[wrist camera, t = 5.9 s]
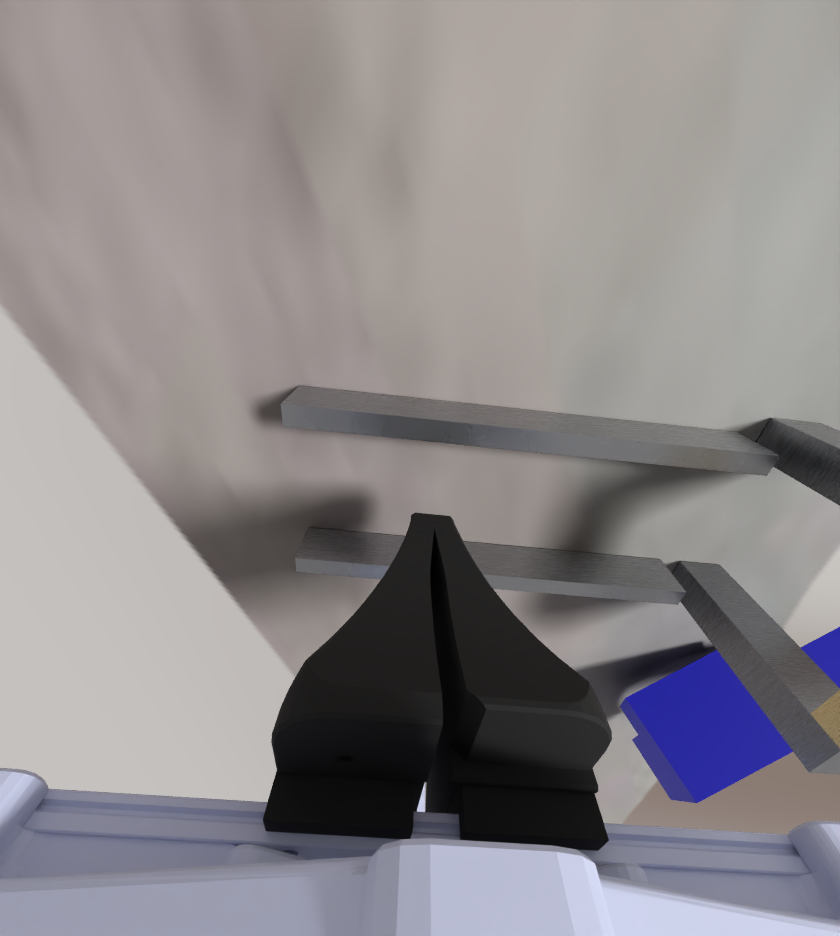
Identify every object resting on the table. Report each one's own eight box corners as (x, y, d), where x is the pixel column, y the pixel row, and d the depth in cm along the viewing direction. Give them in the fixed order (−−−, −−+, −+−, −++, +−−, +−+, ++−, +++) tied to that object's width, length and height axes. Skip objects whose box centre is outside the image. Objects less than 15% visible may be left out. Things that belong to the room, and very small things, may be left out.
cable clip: (625, 698, 20) (615, 713, 24) (697, 803, 17) (670, 799, 21) (814, 598, 20) (771, 631, 24) (919, 683, 17) (848, 704, 21)
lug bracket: (704, 586, 18) (868, 776, 12) (666, 582, 18) (809, 772, 11) (821, 423, 14) (1200, 577, 7) (771, 417, 14) (1107, 569, 7)
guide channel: (653, 571, 18) (677, 604, 16) (309, 540, 17) (296, 571, 15) (736, 432, 14) (780, 455, 12) (299, 385, 13) (280, 403, 12)
